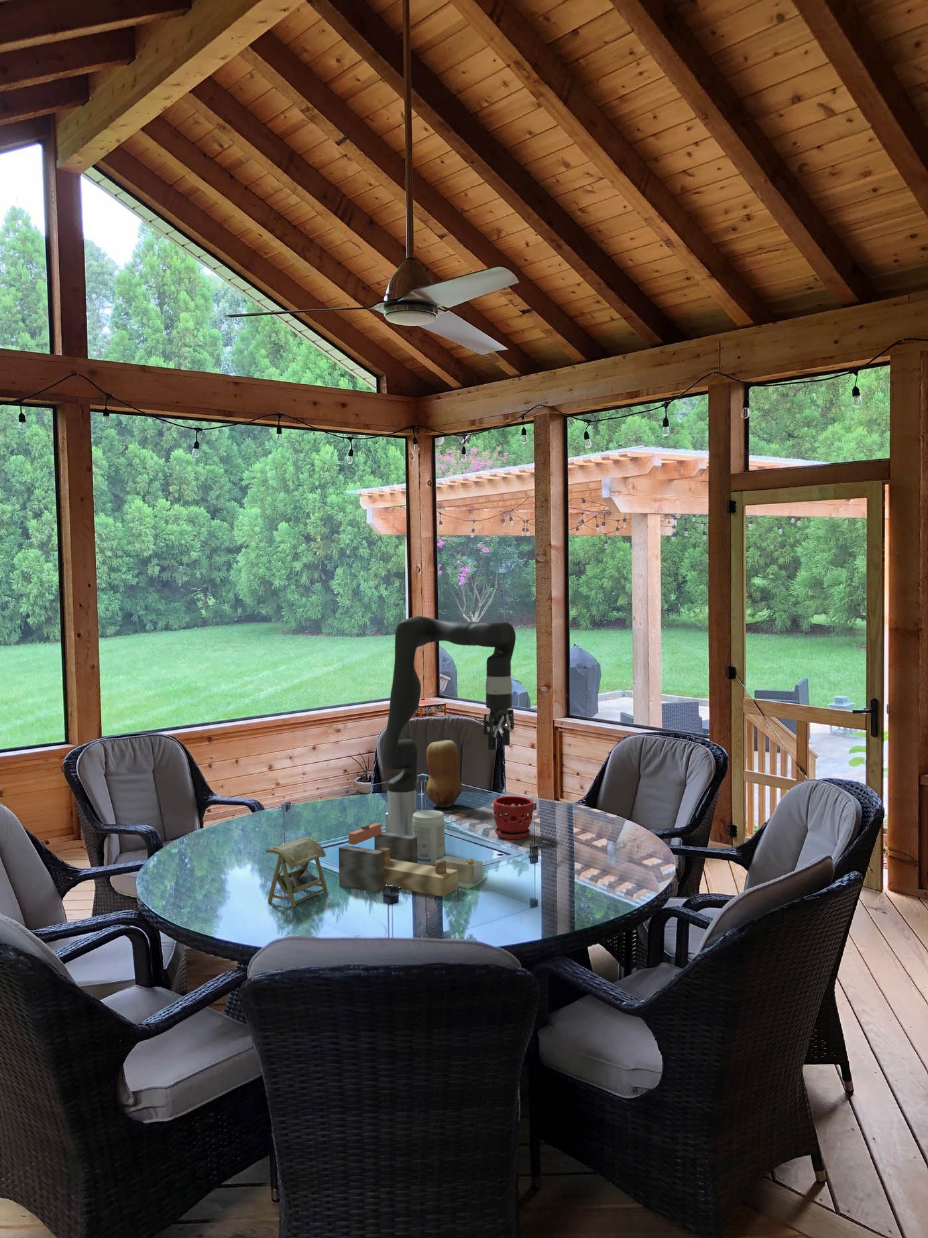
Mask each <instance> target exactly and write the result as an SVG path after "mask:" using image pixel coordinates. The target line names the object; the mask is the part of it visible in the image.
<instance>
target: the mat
mask: <svg viewBox="0 0 928 1238" xmlns="http://www.w3.org/2000/svg"><path fill="white" fill-rule="evenodd" d="M487 878H488V877H487V876H484V875H483V879H482V880H480V881H479V882H477V883H475V884H470V883H465V882H459V881H458V888H463V889H469V890H470V889H471V888H474V887H475V886H477V885H479V884H480V883H482V882H484V881H486V880H487Z"/></svg>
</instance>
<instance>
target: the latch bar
mask: <svg viewBox="0 0 928 1238" xmlns="http://www.w3.org/2000/svg"><path fill="white" fill-rule="evenodd" d="M381 831H382V824H381V823H380V822H374V823H372V824H362V825H360V828H359V829H356V830H354V831H351V832H348V845H351V846H355V845H358V844H360V843H363V842H365V841H367V840H370V839H374V837H375V836H378V835H380V834H381Z"/></svg>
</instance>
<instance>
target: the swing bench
mask: <svg viewBox="0 0 928 1238" xmlns="http://www.w3.org/2000/svg"><path fill="white" fill-rule="evenodd" d="M265 853H266V854H275V855H277V856H278V857H277V861H276V866H275V869H274V874H273V878H272V882H271V885H270V890H269V894H268V898H267V903H269V904H270V903H271V904H272V902H273V898H274V899H278V900H279V899H280V900H284V901H288V902H290V905H291V908H295V907H297V904H299V903H302V902H303V901H305V900H308V899H310V898H312V897H314V896H316V895H318V894H320V893H324V894H326V893H328V888H327V883H326V881H325V876H324V873H323V869H322V865H321V861H320V858H326V852H325V849H324V848H323V846H322V845H321V844H320V843H319V842H318V841H317V840H315V839H313V838H311V837H308V836H301V837H298V838H297V839H295V840H291V841H289V842H285V843H283V844H281V845H278V846H274V847H272V848H267V849H265ZM312 861H315V865H316V868H317V872H318V875H319V877H317V876H315V875H314V874H312V873H311V872H310V871H308V868H309V865H310V862H312ZM287 867H289V870H290V872H288V868H287ZM297 867H300V868H298V869H296V868H297ZM294 869H296V870H294ZM293 870H294V871H293ZM281 873H283V874H282V875H281ZM277 883H278V885H279V887H280V889H281V891H282V892H283V893H284V894H285V895H288V897H287V896H282V895H278V894H275V890H276V886H277ZM314 886H317V887H321V889H319V890H317V891H315V892H312V893H309V894H308V895H306V896H304V897H302V898H298V899H297V900H295V896H294V895H295V894H297V893H299V892H302V891H305V890H308V889H310V888H312V887H314Z"/></svg>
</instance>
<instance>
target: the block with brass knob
mask: <svg viewBox="0 0 928 1238" xmlns="http://www.w3.org/2000/svg"><path fill="white" fill-rule="evenodd" d="M438 860H445V861H446V868H448V869H454V870H458V881H459V882H465V883H470V884H475V883H477V882H479V881H480V880H482V879H483V876H484V868H483V867H484V866H483V865H484V862H483V861H481V860H475V859H473V858H462V857H456V856H450V855H449V856H448V855H445V856H444V857H442V858H440V859H438Z"/></svg>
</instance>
